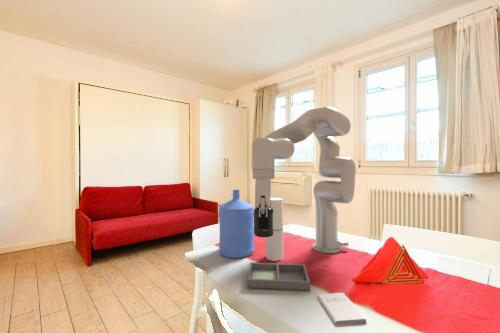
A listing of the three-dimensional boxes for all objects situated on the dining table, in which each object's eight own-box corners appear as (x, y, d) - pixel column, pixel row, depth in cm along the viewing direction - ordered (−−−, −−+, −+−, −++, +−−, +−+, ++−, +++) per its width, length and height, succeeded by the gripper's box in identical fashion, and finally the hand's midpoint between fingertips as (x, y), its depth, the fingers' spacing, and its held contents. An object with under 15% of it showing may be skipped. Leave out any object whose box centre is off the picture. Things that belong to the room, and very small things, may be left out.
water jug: (261, 253, 109) (260, 190, 108) (230, 262, 100) (229, 193, 99) (242, 243, 122) (241, 187, 121) (213, 250, 113) (212, 189, 112)
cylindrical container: (282, 261, 100) (282, 200, 99) (265, 260, 101) (264, 200, 101) (283, 254, 107) (283, 197, 106) (267, 253, 108) (267, 197, 108)
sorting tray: (304, 272, 90) (304, 264, 90) (310, 291, 77) (310, 282, 77) (250, 270, 92) (250, 262, 92) (247, 288, 79) (247, 279, 79)
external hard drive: (335, 327, 62) (317, 299, 74) (366, 324, 63) (343, 297, 75) (335, 321, 62) (317, 293, 74) (366, 318, 63) (343, 292, 75)
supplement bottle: (277, 234, 85) (277, 199, 84) (264, 239, 80) (264, 202, 79) (262, 230, 90) (262, 197, 89) (249, 234, 85) (249, 200, 84)
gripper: (254, 172, 93) (254, 219, 94) (250, 176, 76) (250, 233, 76) (274, 172, 92) (274, 219, 93) (274, 176, 75) (274, 233, 76)
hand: (263, 225), depth 85 cm, fingers closed on supplement bottle, 6 cm apart
